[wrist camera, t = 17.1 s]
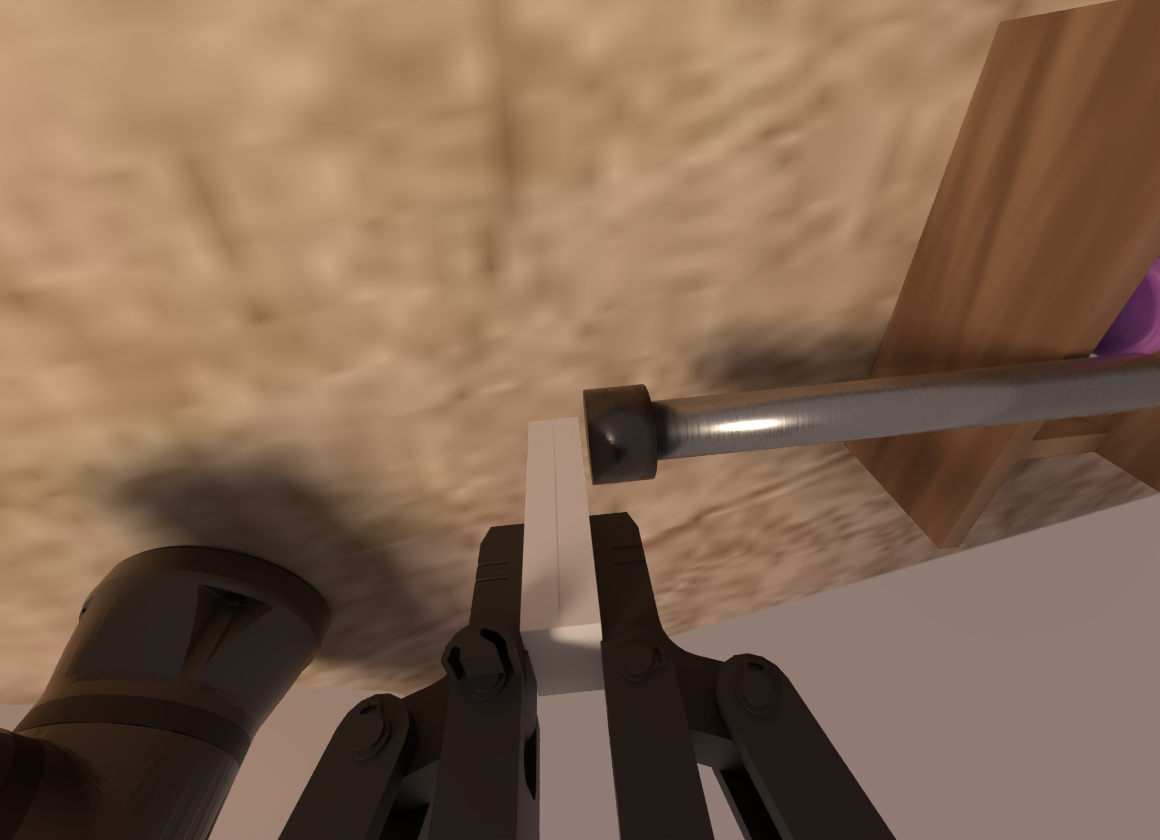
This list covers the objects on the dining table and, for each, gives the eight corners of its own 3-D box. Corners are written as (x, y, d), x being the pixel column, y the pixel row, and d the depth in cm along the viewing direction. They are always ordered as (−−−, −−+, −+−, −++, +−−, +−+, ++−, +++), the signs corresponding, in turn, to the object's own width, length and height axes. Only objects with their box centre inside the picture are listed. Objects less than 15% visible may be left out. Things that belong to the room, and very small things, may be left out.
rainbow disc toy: (1091, 322, 25) (1260, 388, 19) (919, 361, 26) (1030, 436, 20) (1175, 155, 20) (1437, 175, 14) (960, 209, 21) (1124, 249, 15)
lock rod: (586, 444, 17) (594, 505, 14) (580, 372, 15) (589, 427, 12) (1063, 396, 17) (1156, 447, 15) (1116, 319, 15) (1233, 362, 13)
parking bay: (844, 444, 29) (939, 548, 22) (1000, 22, 17) (1321, -38, 10) (1062, 421, 29) (1223, 517, 22) (1373, -10, 17) (1937, -89, 10)
